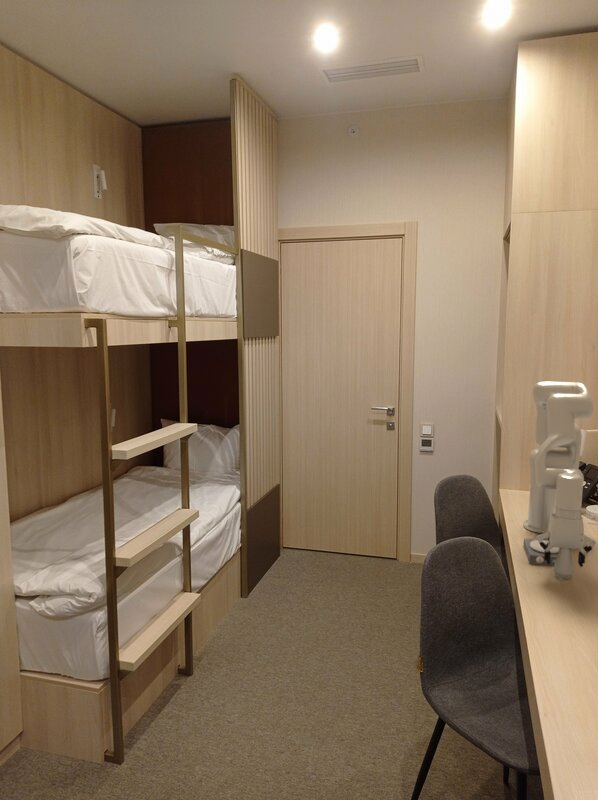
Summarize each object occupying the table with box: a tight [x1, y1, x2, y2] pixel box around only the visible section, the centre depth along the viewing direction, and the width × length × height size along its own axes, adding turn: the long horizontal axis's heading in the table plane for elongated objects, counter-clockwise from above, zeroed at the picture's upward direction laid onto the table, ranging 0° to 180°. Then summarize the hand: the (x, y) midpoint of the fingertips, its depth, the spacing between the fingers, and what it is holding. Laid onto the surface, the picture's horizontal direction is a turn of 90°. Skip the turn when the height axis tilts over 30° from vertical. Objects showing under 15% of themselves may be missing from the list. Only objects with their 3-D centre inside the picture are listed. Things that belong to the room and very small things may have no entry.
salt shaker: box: [553, 548, 574, 581], centre depth 186 cm, size 6×6×13 cm
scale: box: [523, 538, 559, 567], centre depth 201 cm, size 14×12×4 cm
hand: (564, 563), depth 186 cm, fingers open, 9 cm apart
